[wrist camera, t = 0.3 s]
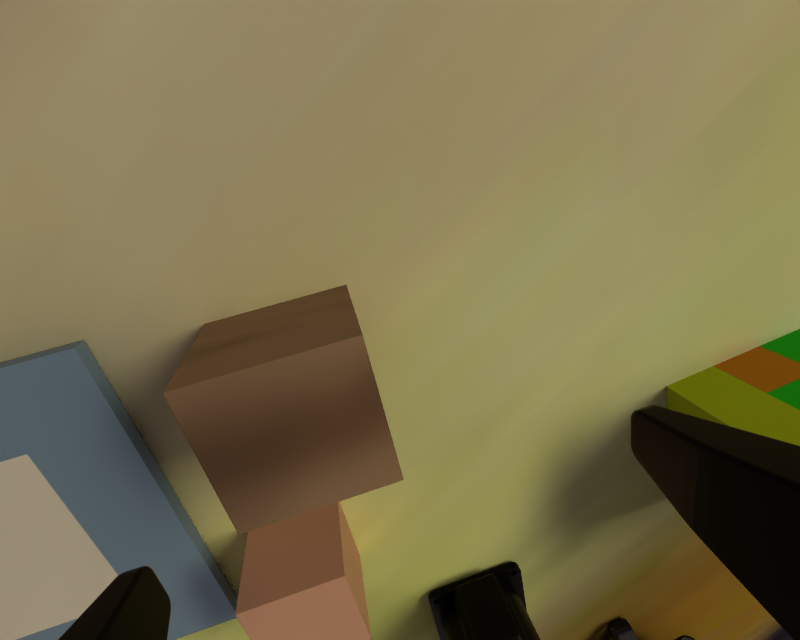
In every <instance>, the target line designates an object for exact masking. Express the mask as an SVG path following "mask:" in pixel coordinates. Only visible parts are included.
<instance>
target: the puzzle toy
mask: <svg viewBox="0 0 800 640" xmlns="http://www.w3.org/2000/svg"><path fill="white" fill-rule="evenodd" d="M666 389H667V405H668V409H670V410H674V411H677V412H681V413H684V414H688V415H691V416H695V417H699V418H702V419H706V420H709V421H713V422H716V423H720V424H723V425H727V426H731V427H734V428H738V429H741V430H745V431H748V432H752V433H756V434H759V435H763V436H766V437H770V438H773V439H777V440H781V441H784V442H788V443H791V444H795V445H798V446H800V329H799V330H797V331H794V332H792V333H790V334H787V335H785V336H783V337H780V338H778V339H776V340H773V341H771V342H769V343H766V344H764V345H762V346H759V347H757V348H755V349H752V350H750V351H748V352H745V353H743V354H741V355H738V356H736V357H734V358H731V359H729V360H727V361H724V362H722V363H720V364H717V365H715V366H713V367H710V368H708V369H706V370H703V371H701V372H699V373H696V374H694V375H692V376H689V377H687V378H685V379H682V380H680V381H678V382H675V383H673V384H671V385H668V386H666Z"/></svg>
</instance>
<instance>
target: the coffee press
mask: <svg viewBox="0 0 800 640" xmlns="http://www.w3.org/2000/svg"><path fill="white" fill-rule="evenodd" d="M608 627H609V630H610V633H611V635H612V638H613V640H638V639H637V637H636V635H635V633H634V631H633V629H632V627H631V626H630V624H629V623H628V621H627V620H626V619H624V618H623V619H620V620H618V621H615V622H613V623H610V624H608ZM679 640H695V639H693V638H692V637H690V636H682V637H680V639H679Z"/></svg>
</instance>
